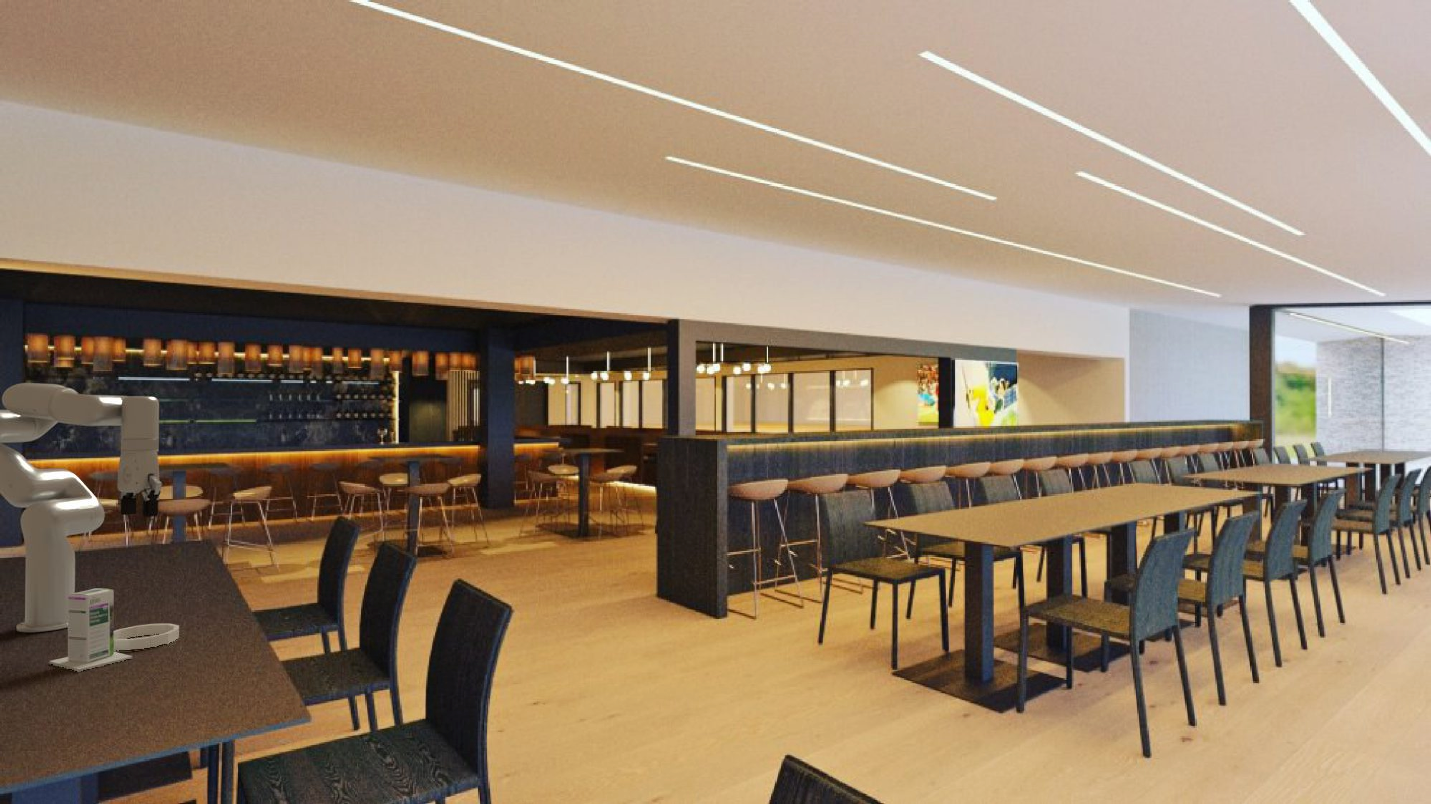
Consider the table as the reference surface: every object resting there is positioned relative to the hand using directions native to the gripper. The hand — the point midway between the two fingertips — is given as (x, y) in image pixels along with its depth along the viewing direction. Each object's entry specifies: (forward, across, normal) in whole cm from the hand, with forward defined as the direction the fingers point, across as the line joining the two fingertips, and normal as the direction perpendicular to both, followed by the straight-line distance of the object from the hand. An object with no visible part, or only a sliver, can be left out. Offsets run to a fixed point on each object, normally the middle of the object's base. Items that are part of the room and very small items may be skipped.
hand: (139, 515), depth 195 cm
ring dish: (+28, +12, -5) cm, 31 cm away
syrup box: (+28, +18, -18) cm, 38 cm away
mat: (+28, +18, -18) cm, 38 cm away
